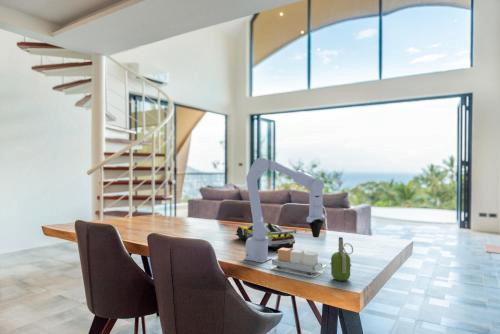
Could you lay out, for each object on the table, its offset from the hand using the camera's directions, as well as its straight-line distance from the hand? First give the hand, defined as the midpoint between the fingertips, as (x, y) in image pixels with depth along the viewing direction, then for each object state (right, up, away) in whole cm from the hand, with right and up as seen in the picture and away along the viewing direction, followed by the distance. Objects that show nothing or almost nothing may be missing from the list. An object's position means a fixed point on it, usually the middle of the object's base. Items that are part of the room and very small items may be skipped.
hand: (315, 237), depth 140 cm
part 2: (-6, -7, -18) cm, 20 cm away
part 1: (-10, -7, -15) cm, 20 cm away
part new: (-15, -7, -12) cm, 20 cm away
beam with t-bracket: (-9, -9, -12) cm, 18 cm away
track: (-8, -10, -12) cm, 17 cm away
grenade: (+4, -10, -26) cm, 28 cm away
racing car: (-21, -11, +32) cm, 40 cm away
